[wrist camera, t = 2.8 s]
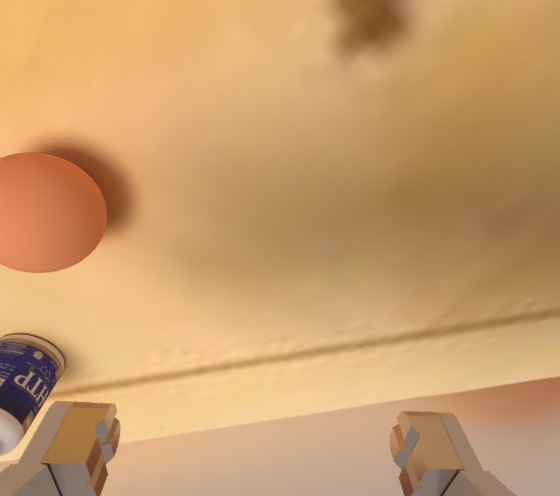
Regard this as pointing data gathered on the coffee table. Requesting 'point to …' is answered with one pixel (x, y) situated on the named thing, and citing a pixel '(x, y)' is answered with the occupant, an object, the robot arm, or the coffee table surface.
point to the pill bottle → (24, 384)
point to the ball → (47, 213)
